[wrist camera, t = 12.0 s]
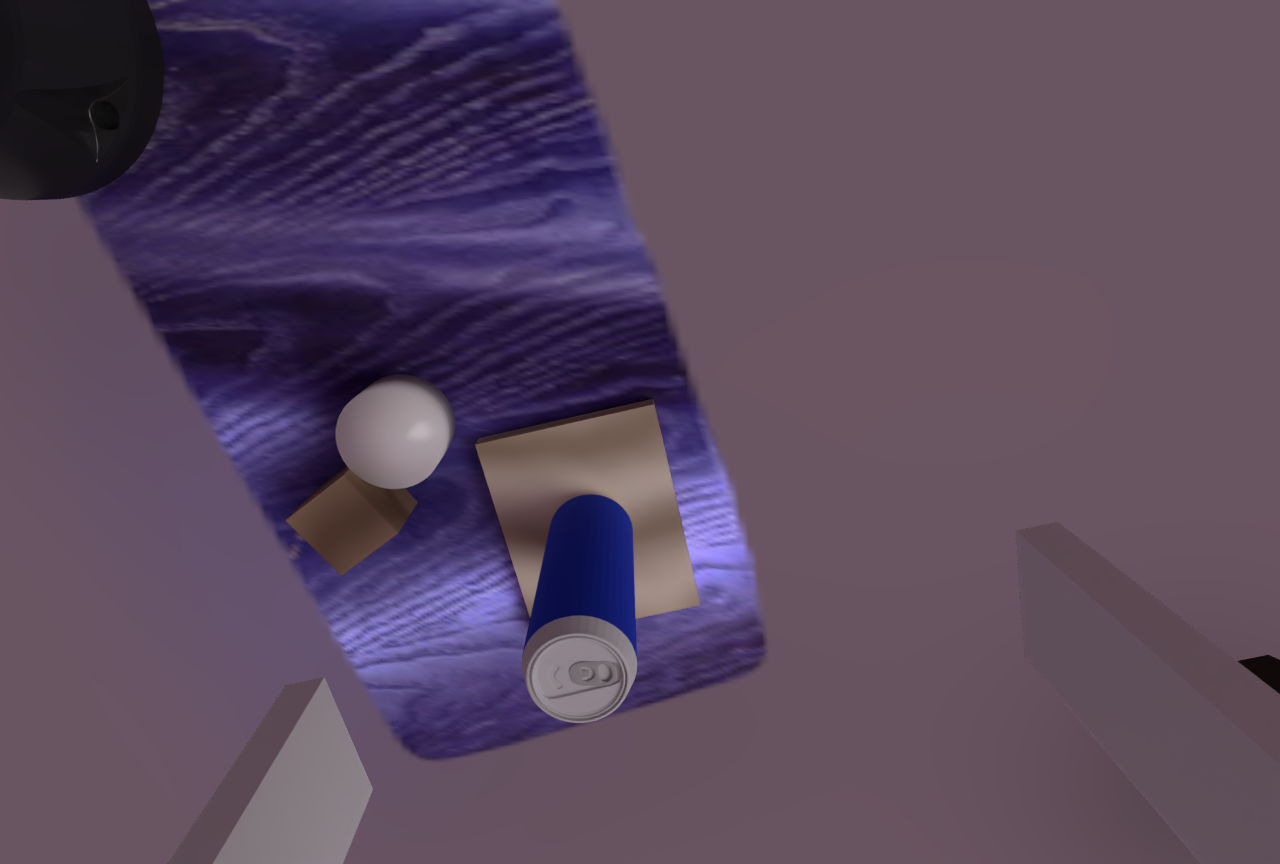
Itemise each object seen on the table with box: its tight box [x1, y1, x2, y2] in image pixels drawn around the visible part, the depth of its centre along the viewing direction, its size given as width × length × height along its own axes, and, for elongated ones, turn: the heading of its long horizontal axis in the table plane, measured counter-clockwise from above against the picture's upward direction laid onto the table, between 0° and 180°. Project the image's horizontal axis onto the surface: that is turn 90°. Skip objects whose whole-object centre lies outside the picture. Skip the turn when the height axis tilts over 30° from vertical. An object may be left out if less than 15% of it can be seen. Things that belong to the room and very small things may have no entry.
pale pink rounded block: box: [335, 374, 455, 489], centre depth 44 cm, size 6×6×4 cm
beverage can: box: [522, 494, 637, 723], centre depth 40 cm, size 5×5×15 cm
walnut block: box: [286, 466, 418, 576], centre depth 45 cm, size 4×4×4 cm
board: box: [475, 399, 700, 619], centre depth 47 cm, size 14×11×1 cm
